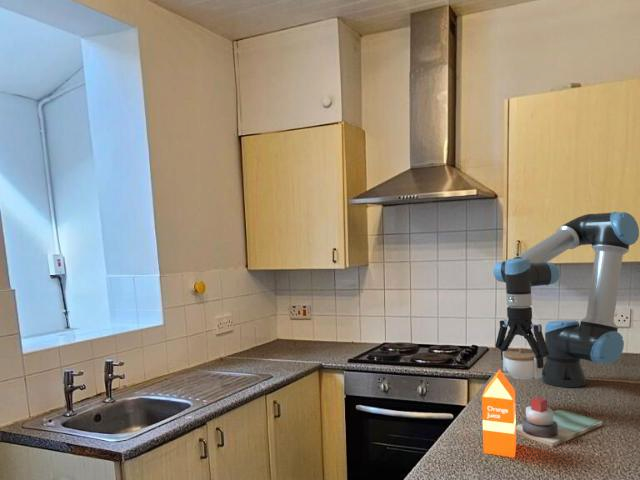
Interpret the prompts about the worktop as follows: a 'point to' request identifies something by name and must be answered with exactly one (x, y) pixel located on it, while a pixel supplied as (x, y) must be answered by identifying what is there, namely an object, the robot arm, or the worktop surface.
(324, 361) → the worktop surface
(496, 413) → the orange juice
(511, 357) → the lidded jar
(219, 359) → the worktop surface
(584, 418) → the game board
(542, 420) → the dome
